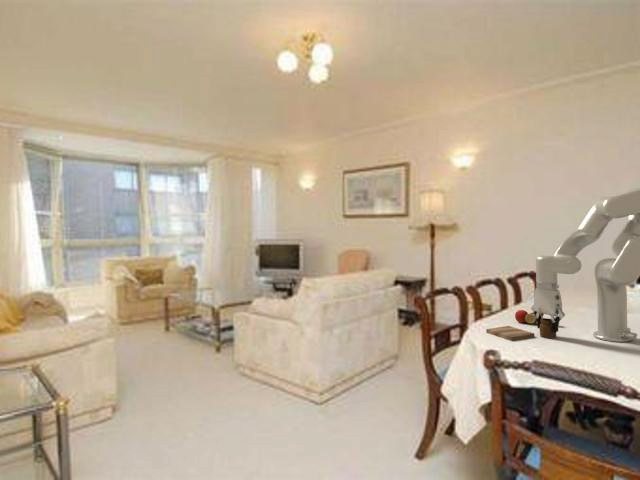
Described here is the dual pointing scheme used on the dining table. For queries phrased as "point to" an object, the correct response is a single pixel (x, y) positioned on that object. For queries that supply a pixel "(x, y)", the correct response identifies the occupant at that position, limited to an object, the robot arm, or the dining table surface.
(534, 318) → the kendama
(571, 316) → the dining table surface
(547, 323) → the utensil holder
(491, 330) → the board
